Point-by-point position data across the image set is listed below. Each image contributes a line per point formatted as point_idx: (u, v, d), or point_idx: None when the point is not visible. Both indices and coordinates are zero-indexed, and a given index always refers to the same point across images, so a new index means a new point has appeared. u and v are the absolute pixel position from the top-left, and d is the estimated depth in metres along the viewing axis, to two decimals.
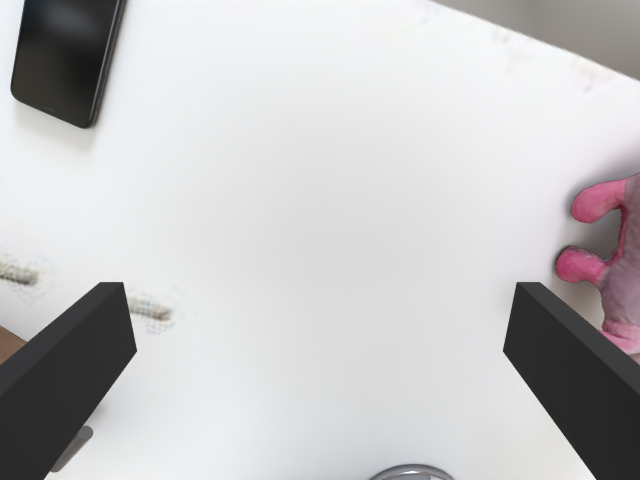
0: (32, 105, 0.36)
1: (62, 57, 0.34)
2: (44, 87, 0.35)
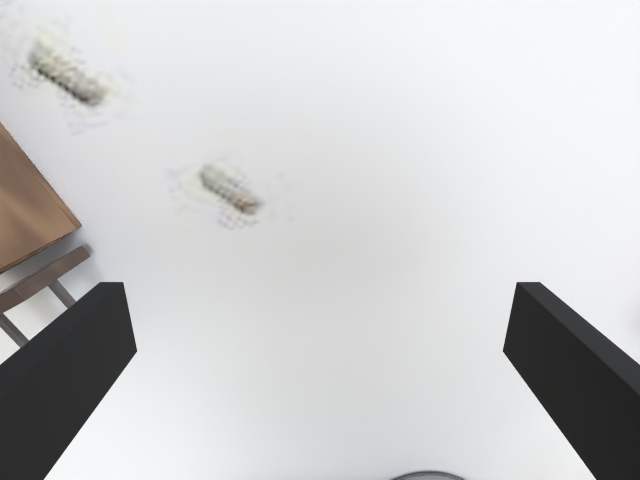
0: None
1: None
2: None
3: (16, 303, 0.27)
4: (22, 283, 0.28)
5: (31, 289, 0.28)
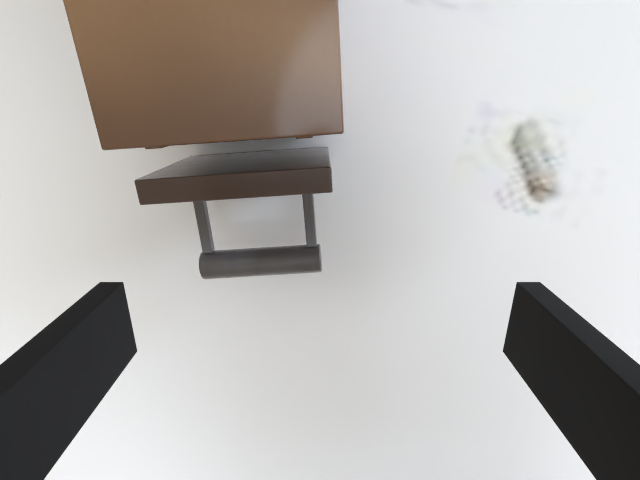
0: None
1: None
2: None
3: (315, 191, 0.18)
4: (330, 166, 0.18)
5: None
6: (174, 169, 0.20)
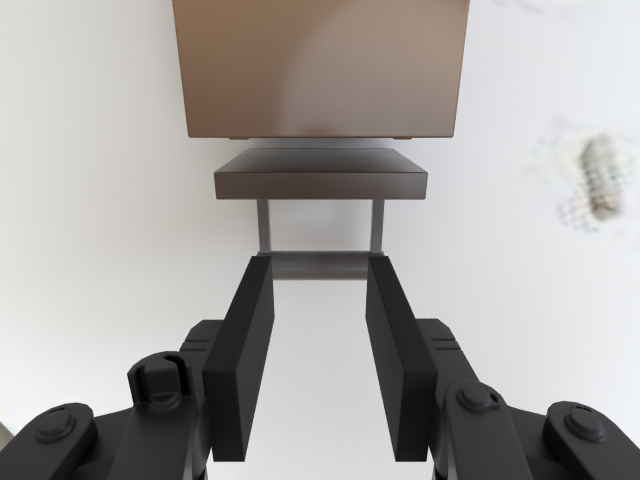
0: None
1: None
2: None
3: (407, 196, 0.16)
4: None
5: None
6: (247, 162, 0.18)
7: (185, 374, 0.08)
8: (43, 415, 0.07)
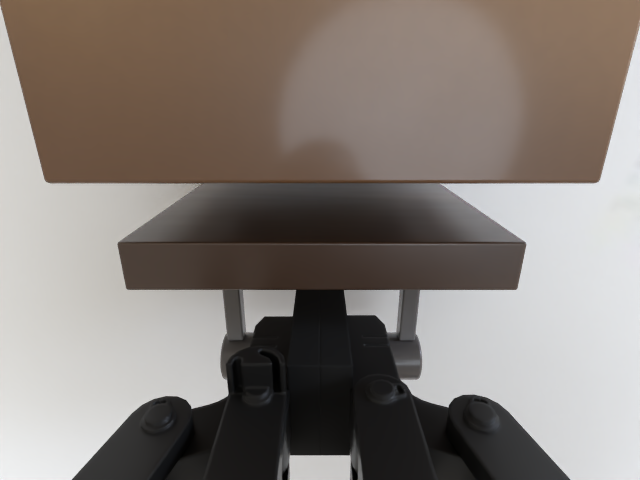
0: None
1: None
2: None
3: (485, 286, 0.09)
4: None
5: None
6: (195, 211, 0.11)
7: (277, 371, 0.08)
8: (147, 405, 0.08)
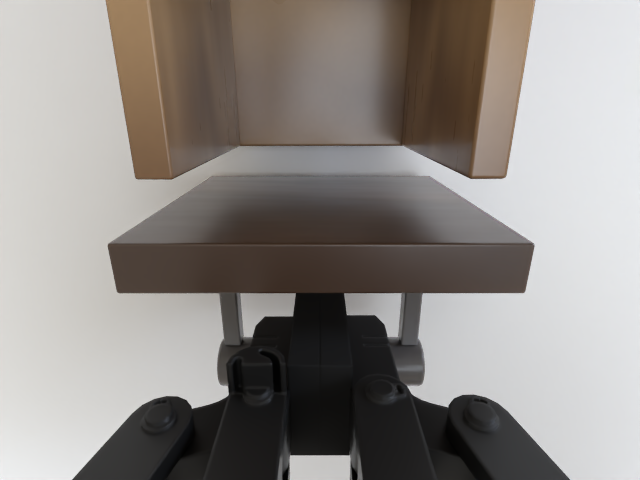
0: None
1: None
2: None
3: (491, 289, 0.08)
4: None
5: None
6: (190, 212, 0.10)
7: (277, 371, 0.08)
8: (147, 405, 0.08)
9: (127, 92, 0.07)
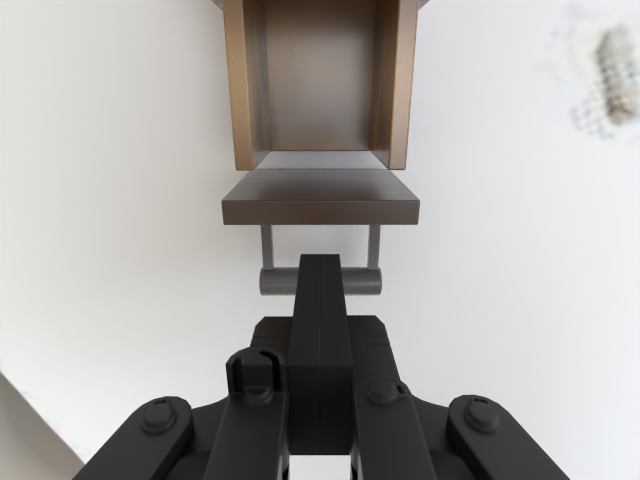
0: None
1: None
2: None
3: (401, 222, 0.18)
4: None
5: None
6: (251, 188, 0.20)
7: (277, 371, 0.08)
8: (147, 405, 0.08)
9: (236, 131, 0.16)
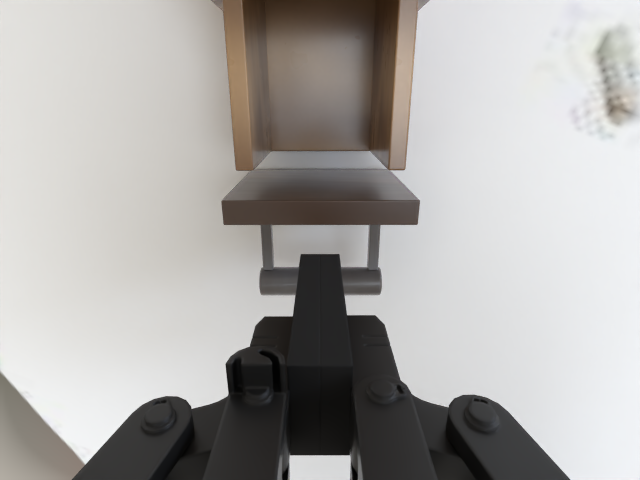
0: None
1: None
2: None
3: (401, 222, 0.18)
4: None
5: None
6: (251, 188, 0.20)
7: (277, 371, 0.08)
8: (147, 405, 0.08)
9: (235, 132, 0.16)
